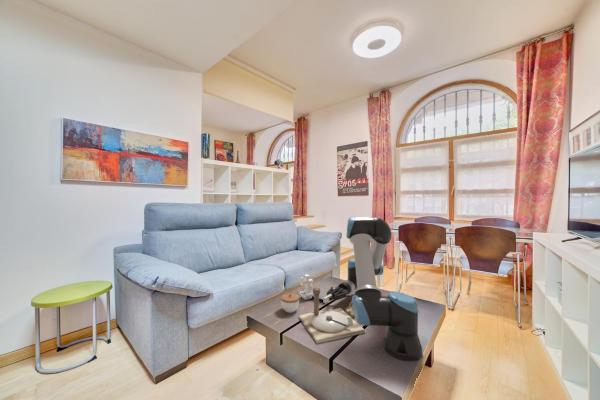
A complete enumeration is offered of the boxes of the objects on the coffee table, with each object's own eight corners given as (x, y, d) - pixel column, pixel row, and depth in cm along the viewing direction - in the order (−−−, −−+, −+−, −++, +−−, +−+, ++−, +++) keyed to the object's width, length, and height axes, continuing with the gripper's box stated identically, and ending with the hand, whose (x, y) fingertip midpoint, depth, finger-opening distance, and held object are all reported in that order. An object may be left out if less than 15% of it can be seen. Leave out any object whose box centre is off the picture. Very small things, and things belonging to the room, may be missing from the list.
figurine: (316, 298, 154) (316, 275, 154) (304, 301, 149) (304, 277, 149) (309, 294, 160) (309, 272, 160) (297, 297, 155) (297, 274, 155)
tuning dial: (357, 321, 122) (357, 292, 122) (337, 338, 108) (338, 306, 108) (323, 308, 136) (323, 283, 136) (302, 322, 121) (302, 293, 121)
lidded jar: (292, 316, 131) (292, 299, 131) (277, 311, 137) (277, 295, 136) (302, 308, 140) (302, 292, 140) (287, 304, 146) (287, 289, 145)
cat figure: (354, 323, 127) (391, 310, 136) (353, 307, 127) (390, 295, 136) (344, 314, 136) (379, 303, 146) (343, 299, 136) (378, 289, 145)
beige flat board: (364, 332, 115) (364, 329, 115) (317, 343, 107) (317, 339, 107) (340, 310, 138) (340, 307, 138) (299, 317, 129) (299, 314, 129)
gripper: (355, 296, 145) (334, 311, 127) (337, 291, 154) (315, 303, 136) (355, 284, 145) (334, 297, 127) (337, 279, 154) (315, 290, 136)
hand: (324, 300), depth 132 cm, fingers closed
